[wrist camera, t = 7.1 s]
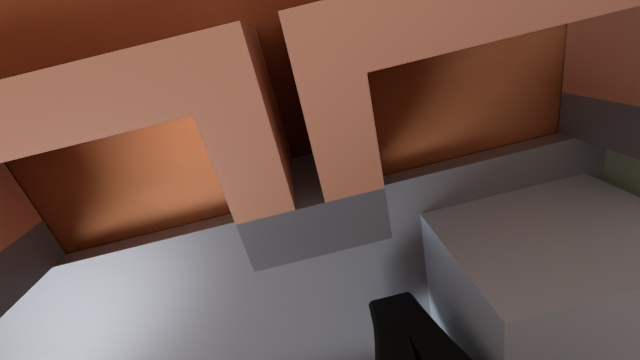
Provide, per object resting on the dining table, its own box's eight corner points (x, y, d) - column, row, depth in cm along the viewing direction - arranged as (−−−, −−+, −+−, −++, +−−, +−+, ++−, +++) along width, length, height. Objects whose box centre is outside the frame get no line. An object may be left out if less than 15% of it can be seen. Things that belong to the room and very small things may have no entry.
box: (45, 466, 13) (-18, 577, 10) (-285, 161, 8) (-605, 228, 5) (591, 331, 13) (671, 406, 11) (664, -73, 8) (875, -137, 5)
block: (584, 173, 9) (772, 256, 6) (568, 298, 12) (700, 417, 8) (419, 213, 9) (505, 322, 6) (432, 331, 11) (501, 467, 8)
